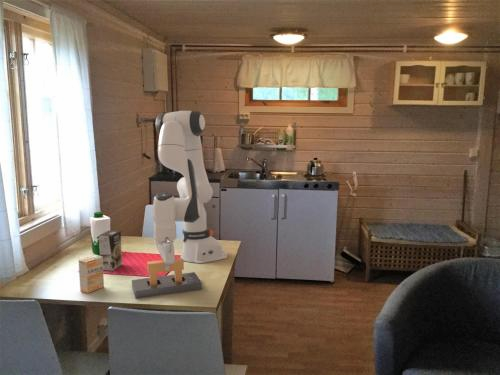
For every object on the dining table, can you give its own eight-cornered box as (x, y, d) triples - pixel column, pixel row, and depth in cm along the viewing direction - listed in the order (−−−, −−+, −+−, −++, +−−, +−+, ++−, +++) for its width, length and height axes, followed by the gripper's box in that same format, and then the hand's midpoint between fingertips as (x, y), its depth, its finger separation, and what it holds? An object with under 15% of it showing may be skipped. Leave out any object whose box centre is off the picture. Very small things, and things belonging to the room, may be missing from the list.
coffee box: (113, 271, 204) (111, 236, 201) (99, 270, 206) (98, 235, 203) (122, 264, 213) (121, 230, 210) (110, 263, 214) (108, 229, 211)
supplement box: (88, 294, 179) (86, 262, 177) (79, 291, 182) (77, 259, 180) (104, 287, 186) (103, 256, 184) (96, 284, 189) (95, 254, 186)
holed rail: (194, 278, 195) (194, 272, 195) (201, 289, 184) (201, 282, 184) (131, 287, 186) (131, 280, 186) (135, 298, 175) (135, 291, 175)
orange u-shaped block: (182, 281, 189) (182, 257, 187) (184, 283, 186) (183, 260, 184) (147, 285, 184) (147, 261, 182) (149, 288, 181) (148, 264, 180)
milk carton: (107, 248, 236) (105, 210, 232) (114, 253, 229) (112, 214, 225) (90, 252, 230) (87, 213, 227) (96, 256, 223) (94, 216, 220)
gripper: (178, 240, 173) (179, 275, 175) (168, 227, 192) (169, 259, 194) (161, 242, 171) (162, 277, 173) (153, 228, 190) (154, 260, 192)
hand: (166, 267), depth 184 cm, fingers closed on orange u-shaped block, 3 cm apart
